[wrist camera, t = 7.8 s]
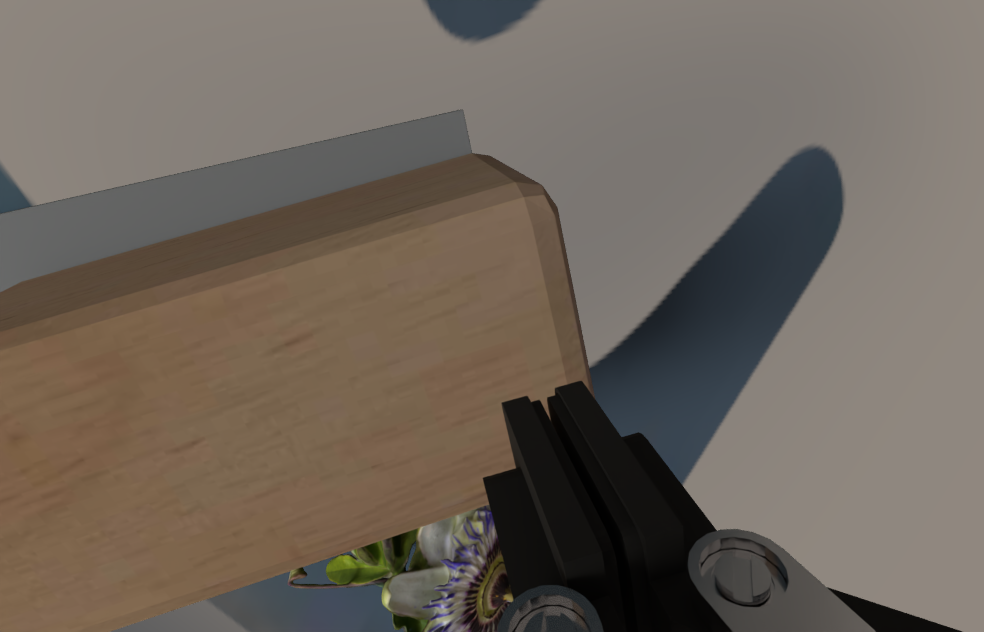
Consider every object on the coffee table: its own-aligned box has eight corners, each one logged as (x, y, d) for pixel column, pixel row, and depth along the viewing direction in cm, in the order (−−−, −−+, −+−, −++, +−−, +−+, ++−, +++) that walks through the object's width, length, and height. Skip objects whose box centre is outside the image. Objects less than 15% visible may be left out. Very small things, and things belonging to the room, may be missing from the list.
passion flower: (478, 436, 35) (584, 615, 29) (329, 526, 33) (409, 737, 27) (449, 363, 26) (597, 606, 20) (236, 483, 24) (329, 794, 18)
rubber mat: (-54, 225, 20) (-64, 228, 20) (461, 109, 22) (463, 109, 22) (101, 466, 25) (96, 473, 25) (513, 355, 27) (515, 360, 27)
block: (561, 176, 13) (-274, 421, 12) (617, 475, 17) (2, 682, 16) (490, 144, 22) (11, 281, 21) (538, 345, 27) (141, 470, 25)
